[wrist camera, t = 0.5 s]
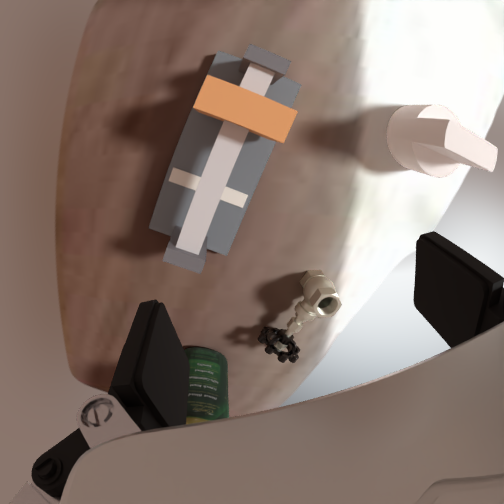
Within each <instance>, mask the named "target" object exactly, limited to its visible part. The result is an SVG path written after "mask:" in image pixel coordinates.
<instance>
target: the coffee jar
mask: <svg viewBox="0 0 504 504" xmlns="http://www.w3.org/2000/svg"><path fill="white" fill-rule="evenodd" d="M184 351H185V353H186V356H187V358H188V360H189V365H190V372H189V386H188V401H187V417H186V424H192V423H199V422H206V421H212V420H218V419H224V418H229V404H228V364H227V360H226V358H225V356H224V355H222V354H221V353H219V352H217V351H214V350H211V349H208V348H202V347H191V348H187V349H185V350H184Z"/></svg>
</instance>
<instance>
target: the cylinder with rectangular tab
mask: <svg viewBox="0 0 504 504" xmlns="http://www.w3.org/2000/svg"><path fill="white" fill-rule="evenodd" d="M386 136H387V144H388V147H389V150H390V153H391V154H392V156H393V157H394V159H395V160H396V161H397V162H398V163H399V164H400V165H402V166H403V167H405V168H408V169H411V170H414V171H417V172H421V173H424V174H427V175H430V176H433V177H438V178H440V177H446V176H448V175H450V174H452V173H453V172H454V171H455V170H456V169H457V168H458V166H459V164H460V163H461V164H465V165H469V166H472V167H476V168H480V169H483V170H486V171H489V172H493V170H494V167H495V164H496V160H497V148H496V147H495V146H494V145H492V144H491V143H489V142H488V141H486V140H484V139H483V138H481V137H480V136H478V135H476V134H475V133H473V132H471V131H470V130H468V129H466V128H464V127H463V126H462V125H461V123H460V121H459V119H458V118H457V116H456V115H455V114H454V113H453V112H452V111H451V110H450V109H448V108H447V107H444V106H442V105H406V106H403V107H400V108H399V109H398V110H396V111H395V112H394V113H393V115H392V116H391V118H390V120H389V123H388V126H387V135H386Z"/></svg>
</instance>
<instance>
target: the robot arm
mask: <svg viewBox="0 0 504 504" xmlns="http://www.w3.org/2000/svg"><path fill="white" fill-rule="evenodd" d="M503 282H504V278H503V277H502V276H500V275H499V274H498V273H496V272H495V271H493V270H492V269H491V268H489V267H488V266H486V265H485V264H483V263H482V262H481V261H479V260H478V259H476V258H474V257H473V256H472V255H470V254H469V253H467V252H466V251H464V250H463V249H461V248H460V247H458V246H457V245H455V244H454V243H452V242H451V241H449V240H448V239H446V238H444V237H443V236H441V235H440V234H438V233H436V232H434V231H433V232H429V233H426V234H422V235H421V236H420V237H419V239H418V240H417V242H416V271H415V287H414V305H415V307H416V309H417V310H418V311H419V312H420V313H421V314H422V315H423V317H424V318H425V319H426V320H427V321H428V322H429V323H430V324H431V325H432V327H433V328H434V329H435V330H436V331H437V332H438V333H439V334H440V336H441V337H442V338H443V339H444V340H445V341H446V343H447V344H448V345H449V346H450V347H451V349H448V350H446V351H444V352H442V353H440V354H438V355H435V356H433V357H431V358H428V359H426V360H424V361H421V362H419V363H416V364H414V365H412V366H409V367H407V368H404V369H402V370H399V371H396V372H394V373H391V374H389V375H386V376H383V377H380V378H377V379H375V380H372V381H369V382H366V383H363V384H360V385H357V386H354V387H351V388H348V389H345V390H341V391H338V392H335V393H331V394H328V395H325V396H321V397H318V398H314V399H310V400H307V401H303V402H299V403H295V404H292V405H287V406H283V407H279V408H274V409H270V410H265V411H261V412H256V413H251V414H246V415H241V416H235V417H230V418H224V419H218V420H212V421H206V422H199V423H192V424H186V417H187V401H188V386H189V372H190V365H189V360H188V358H187V356H186V353H185V351H184V349H183V347H182V345H181V342H180V340H179V338H178V336H177V333H176V331H175V329H174V327H173V324H172V322H171V320H170V317H169V315H168V313H167V310H166V308H165V306H164V304H163V303H159V302H158V301H157V300H151V301H147V302H142V303H140V305H139V307H138V310H137V313H136V315H135V318H134V321H133V323H132V326H131V329H130V332H129V335H128V337H127V340H126V343H125V345H124V347H123V350H122V353H121V355H120V358H119V361H118V364H117V367H116V370H115V373H114V377H113V380H112V383H111V386H110V389H109V392H108V394H100V395H96V396H93V397H91V398H89V399H88V400H87V401H86V402H84V403H83V404H82V406H81V407H80V408H79V411H78V413H77V419H76V420H77V423H78V426H79V428H78V429H77V430H76V431H74V432H73V433H71V434H70V435H69V436H67V437H66V438H65V439H64V440H62V441H61V442H59V443H58V444H56V445H55V446H54V447H52V448H51V449H49V450H48V451H47V452H45V453H44V454H42V455H41V456H40V457H39V458H38V459H37V460H36V462H35V463H34V465H33V468H32V479H33V482H32V483H31V484H30V483H29V482H26V483H25V485H24V486H23V487H22V488H21V490H20V491H19V492H18V493H17V494H16V496H15V497H14V498H13V499H12V501H11V502H10V503H9V504H504V288H503Z"/></svg>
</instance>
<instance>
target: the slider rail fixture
mask: <svg viewBox="0 0 504 504" xmlns="http://www.w3.org/2000/svg"><path fill="white" fill-rule="evenodd" d="M290 63H291V61H290V60H287V59H285V58H283V57H281V56H278V55H276V54H274V53H271V52H269V51H267V50H264V49H262V48H259V47H257V46H254V45H252V44H250V45H249V47H248V49H247V51H246V53H245V55H244V57H243V59H240V58H238V57H235V56H232V55H229V54H227V53H224V52H221V51H218V52H217V54H216V56H215V58H214V61H213V63H212V65H211V67H210V69H209V71H208V73H207V75H210V76H212V77H215V78H218V79H221V80H224V81H226V82H229V83H232V84H234V85H237V86H239V87H242V88H244V89H247V90H249V91H252V92H254V93H257V94H259V95H262V96H264V97H266V98H269V99H271V100H273V101H276V102H278V103H280V104H282V105H285V106H287V107H289V108H291V107H292V105H293V103H294V100H295V98H296V96H297V94H298V92H299V89H300V87H301V84H299V83H297V82H295V81H292V80H290V79H288V78H286V77H284V75H285V74H286V72H287V69H288V67H289V65H290ZM207 75H206V77H207ZM205 79H206V78H205ZM204 81H205V80H204ZM203 83H204V82H203ZM202 86H203V84H202ZM202 86H201V88H202ZM200 90H201V89H200ZM199 92H200V91H199ZM198 95H199V93H198ZM198 95H197V97H198ZM196 99H197V98H196ZM195 102H196V100H195ZM195 102H194V104H195ZM193 106H194V105H193ZM275 143H276V141H272V140H268V139H266V138H264V137H261V136H259V135H256V134H254V133H252V132H249V129H246V128H244V127H241V126H239V125H236V124H234V123H231V122H228V121H226V120H224V121H221V120H218V119H216V118H213V117H210V116H208V115H205V114H202V113H199V112H198V111H197V110H195V109H194V108H193V107H192V109H191V112H190V114H189V117H188V119H187V122H186V124H185V126H184V129H183V131H182V134H181V136H180V139H179V142H178V144H177V147H176V149H175V152H174V155H173V157H172V160H171V163H170V166H169V168H168V171H167V174H166V177H165V180H164V182H163V185H162V188H161V191H160V194H159V197H158V200H157V203H156V206H155V209H154V212H153V215H152V219H151V222H150V225H149V229H152V230H155V231H158V232H160V233H163V234H166V235H169V236H171V238H170V241H169V243H168V246H167V248H166V252H165V255H164V258H163V261H164V262H167V263H170V264H173V265H176V266H179V267H182V268H185V269H188V270H191V271H194V272H197V273H200V274H201V272H202V269H203V267H204V264H205V262H206V251H207V249H209V250H212V251H215V252H218V253H221V254H223V255H226V256H227V254H228V252H229V249H230V247H231V245H232V242H233V240H234V238H235V235H236V233H237V231H238V228H239V226H240V223H241V221H242V219H243V216H244V214H245V212H246V209H247V207H248V205H249V202H250V200H251V198H252V195H253V193H254V191H255V188H256V186H257V184H258V182H259V179H260V177H261V175H262V172H263V170H264V168H265V166H266V163H267V161H268V159H269V156H270V154H271V152H272V150H273V147H274V145H275Z"/></svg>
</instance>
